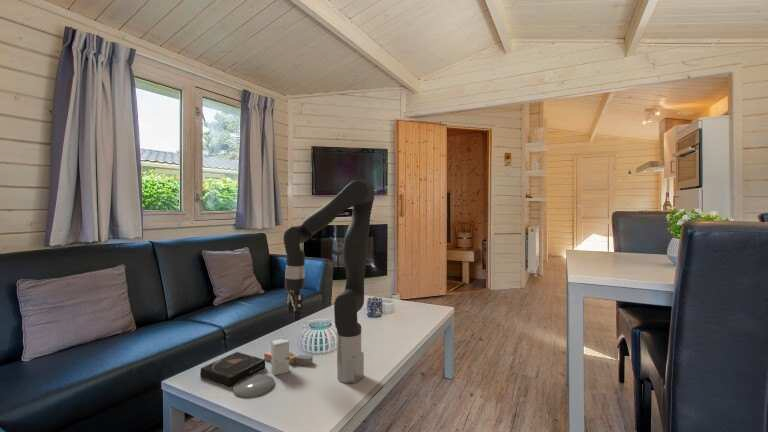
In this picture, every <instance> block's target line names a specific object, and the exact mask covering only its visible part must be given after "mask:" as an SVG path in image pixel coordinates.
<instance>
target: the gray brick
mask: <svg viewBox="0 0 768 432" xmlns="http://www.w3.org/2000/svg"><path fill="white" fill-rule="evenodd" d="M296 356H297V357H296V365H298V366H300V365H301V366H306V365H307V366H308V367H309V366H311V365H312V364H313V359H314V357H313V355H305V354H298V355H296Z"/></svg>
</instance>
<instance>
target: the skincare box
mask: <svg viewBox="0 0 768 432" xmlns="http://www.w3.org/2000/svg"><path fill="white" fill-rule="evenodd" d="M270 343H271V345H270V346H271V347H270V348H271V349H270V351H271V362H270V365H271V367H270V369H271V373H272V374H273V375H274V376H278V375H281V374H286V373H289V372H290V365H289V352H290V341H289V340H288V339H287V338H282V339H276V340H272V341H270Z"/></svg>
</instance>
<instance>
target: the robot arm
mask: <svg viewBox="0 0 768 432" xmlns="http://www.w3.org/2000/svg"><path fill="white" fill-rule="evenodd" d="M374 200H375V187H374V186H373V184H372V183H371V182H369V181H368V180H364V179H353V180H351V181H350V182H349V183H348V184H346V186H345V187H343V189H342V190H341V191H340V192H338V194H337V195H335V196H334V197H333V198H332V199H331V200H330V201H328V202H327V203H325V204H324V205H322V206H321V207H319V208H318V209H317V210H315V211H313V212H312V213H311V214H310V215H307V217H305V218H304V220H303V222H302V223H301V224H299V225H293V226H288V227H287V228H286V229H285V231H284V232H283V244H284V249H285V253H286V263H285V265H286V266H285V271H284V273H285V275H284V289H286V292H285V293H286V294H285V295H286V297H285V299H286V300H285V301H286V304H287V314H289V315H291V314H293V320H294V321H300V320H301V311H303V309H304V308H303V307H304V306H303V303H304V302H303V298H304V297H303V294H301V290H303V289H304V288H305V282H306V281H305V277H306V268H305V259H306V258H305V257H306V255H305V251H303V249H301V244H303V243H305V242H308V240H309V239H311V238H312V237H313V236H314V235H315V234H316V233H318V232H319V231H321V230H322V229H324V228H326V227H327V226H329V224H331V223H332V222H333V221H334V220H335V219H336V218H337V217H338V216H339V215H340V214H342V213H344V212H345V211H347V210H348V209H351V208H352V214H351V217H350V218H351V219H350V222H349V224H348V227H347V230H346V231H345V236H344V239H343V248H342V260H343V263H344V268H345V273H346V280H345V287H344V290H343V292H340V293H339V294H338V295H337V296H336V297H335V300H334V303H333V312H334V313H333V315H334V326H335V328H336V363H337V364H336V367H337V371H336V372H337V373H336V377H337V380H338V381H339V382H342V383H345V384H355V383H357V382H358V381H359V380H361V379H362V378H364V377H365V373H364V369H365V366H364V365H365V363H364V359H365V358H364V355H365V354H364V352H363V351H362V325H361V324H360V323H359V322H358V312H359V311H361V309H362V308H363V307H364V303H365V272H366V268H367V267H366V266H367V259H368V257H367V256H368V251H369V250H368V249H369V248H368V247H369V237H370V224H371V214H372V208H373V205H374Z"/></svg>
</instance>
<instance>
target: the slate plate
mask: <svg viewBox="0 0 768 432" xmlns="http://www.w3.org/2000/svg"><path fill="white" fill-rule="evenodd" d="M274 386H275V378H274V377H273V376H271V375H268V374H254V375H252V376H248V377H245V378H243V379H241V380H239V381H237V382H236V383H235V384H234V386H232V392H233V394H234V395H235V396H237V397H239V398H240V397H241V398H253V397H259V396H262V395H264V394H266V393H268V392H270V391H271V390H272V389H273V388H274Z"/></svg>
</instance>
